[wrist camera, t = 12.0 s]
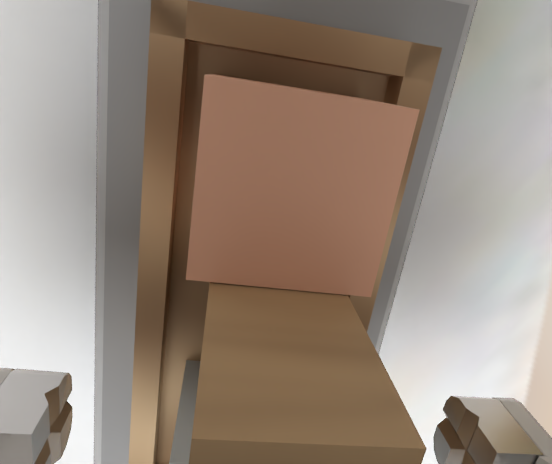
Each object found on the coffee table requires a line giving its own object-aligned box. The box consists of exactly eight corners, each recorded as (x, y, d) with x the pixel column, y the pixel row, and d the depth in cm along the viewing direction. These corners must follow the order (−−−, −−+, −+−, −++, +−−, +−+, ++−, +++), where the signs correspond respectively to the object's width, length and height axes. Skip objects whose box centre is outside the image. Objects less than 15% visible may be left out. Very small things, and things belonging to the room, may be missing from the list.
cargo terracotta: (214, 73, 11) (204, 74, 7) (360, 97, 12) (419, 109, 8) (200, 217, 12) (186, 279, 9) (331, 232, 13) (371, 297, 9)
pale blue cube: (186, 360, 14) (168, 463, 10) (303, 367, 15) (326, 468, 11) (177, 450, 15) (159, 570, 12) (284, 454, 16) (300, 570, 12)
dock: (123, -56, 14) (94, -89, 11) (440, 7, 15) (486, -8, 12) (110, 425, 20) (90, 481, 18) (331, 435, 22) (345, 488, 19)
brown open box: (167, 9, 12) (-34, -185, 3) (404, 52, 13) (791, 5, 4) (141, 446, 17) (41, 845, 8) (308, 452, 18) (380, 815, 9)
